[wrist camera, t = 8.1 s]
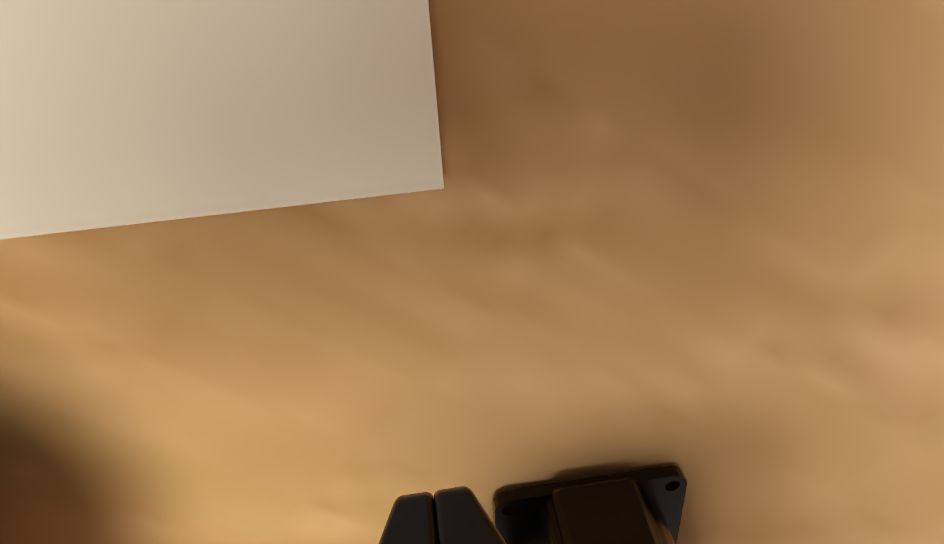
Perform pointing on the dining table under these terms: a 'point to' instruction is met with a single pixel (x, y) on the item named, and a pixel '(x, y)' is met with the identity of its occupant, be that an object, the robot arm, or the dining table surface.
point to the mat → (209, 108)
